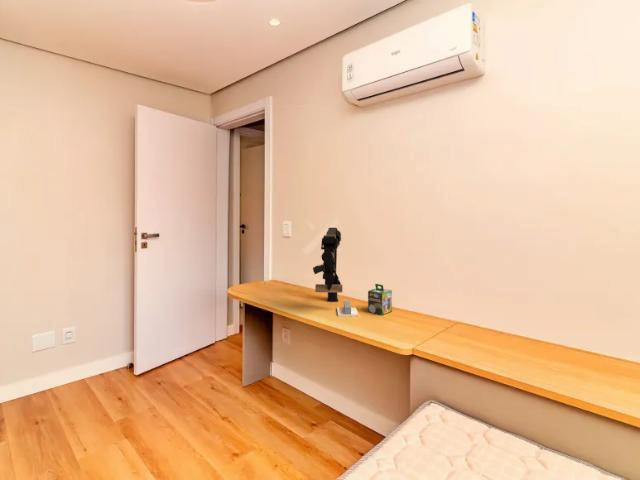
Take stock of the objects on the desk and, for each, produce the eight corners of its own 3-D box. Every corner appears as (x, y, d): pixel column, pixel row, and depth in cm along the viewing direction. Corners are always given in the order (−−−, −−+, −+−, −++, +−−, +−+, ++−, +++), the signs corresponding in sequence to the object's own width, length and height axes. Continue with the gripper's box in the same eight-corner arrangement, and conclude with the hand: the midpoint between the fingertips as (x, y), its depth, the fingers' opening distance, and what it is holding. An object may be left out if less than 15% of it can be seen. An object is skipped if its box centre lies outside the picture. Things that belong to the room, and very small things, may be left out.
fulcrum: (337, 309, 188) (337, 300, 187) (355, 309, 187) (356, 301, 187) (337, 316, 176) (338, 307, 175) (358, 316, 175) (358, 307, 175)
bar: (315, 290, 187) (315, 284, 186) (342, 291, 186) (342, 284, 186) (315, 292, 183) (315, 285, 183) (342, 292, 183) (342, 285, 183)
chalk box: (392, 311, 183) (392, 283, 182) (382, 315, 177) (382, 286, 175) (377, 308, 190) (378, 281, 188) (367, 311, 183) (367, 283, 182)
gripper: (314, 257, 193) (314, 285, 194) (312, 262, 174) (312, 293, 176) (335, 257, 192) (334, 285, 194) (335, 262, 174) (334, 293, 175)
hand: (329, 289), depth 185 cm, fingers closed on bar, 3 cm apart
